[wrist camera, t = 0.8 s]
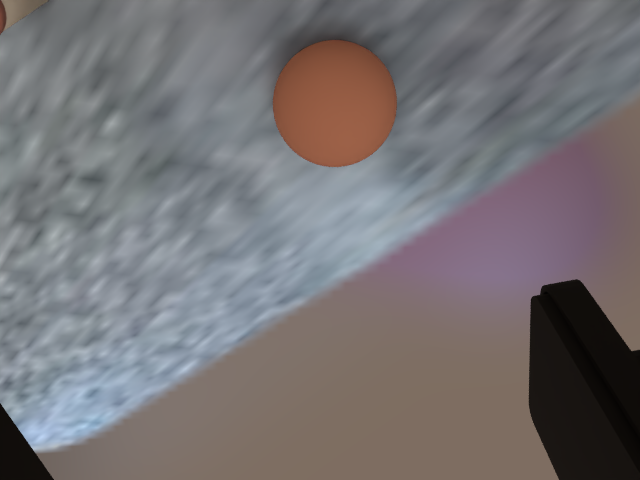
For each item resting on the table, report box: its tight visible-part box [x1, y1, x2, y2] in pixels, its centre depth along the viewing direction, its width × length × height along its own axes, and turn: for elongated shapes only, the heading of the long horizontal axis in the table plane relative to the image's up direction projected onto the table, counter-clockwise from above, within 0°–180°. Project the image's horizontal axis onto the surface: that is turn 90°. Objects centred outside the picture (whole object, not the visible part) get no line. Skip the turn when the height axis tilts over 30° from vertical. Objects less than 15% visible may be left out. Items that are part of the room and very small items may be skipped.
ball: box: [273, 40, 397, 167], centre depth 29 cm, size 6×6×6 cm
